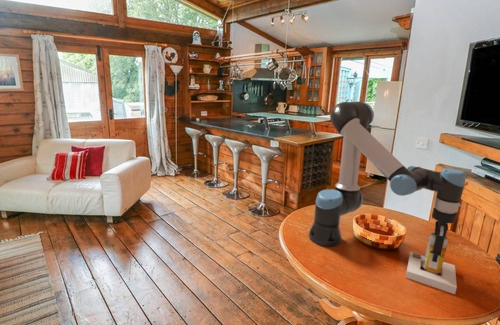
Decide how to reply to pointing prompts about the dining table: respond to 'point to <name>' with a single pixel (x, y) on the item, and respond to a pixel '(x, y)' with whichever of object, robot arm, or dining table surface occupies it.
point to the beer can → (428, 254)
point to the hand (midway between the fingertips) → (432, 263)
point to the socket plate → (441, 282)
